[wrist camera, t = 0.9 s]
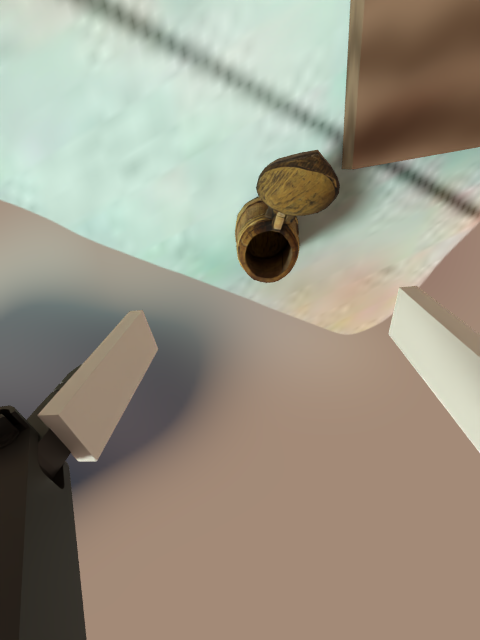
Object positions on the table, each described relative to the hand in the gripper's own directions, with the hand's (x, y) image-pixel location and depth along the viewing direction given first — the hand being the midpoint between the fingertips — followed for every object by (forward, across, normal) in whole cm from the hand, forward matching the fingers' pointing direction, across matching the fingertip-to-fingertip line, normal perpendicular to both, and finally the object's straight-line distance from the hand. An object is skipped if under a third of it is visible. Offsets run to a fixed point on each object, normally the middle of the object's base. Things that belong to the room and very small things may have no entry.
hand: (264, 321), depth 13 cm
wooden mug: (+25, +2, +1) cm, 25 cm away
